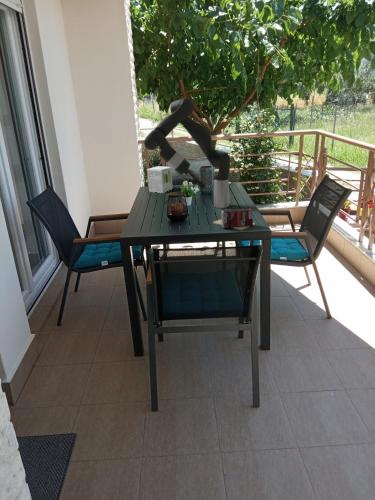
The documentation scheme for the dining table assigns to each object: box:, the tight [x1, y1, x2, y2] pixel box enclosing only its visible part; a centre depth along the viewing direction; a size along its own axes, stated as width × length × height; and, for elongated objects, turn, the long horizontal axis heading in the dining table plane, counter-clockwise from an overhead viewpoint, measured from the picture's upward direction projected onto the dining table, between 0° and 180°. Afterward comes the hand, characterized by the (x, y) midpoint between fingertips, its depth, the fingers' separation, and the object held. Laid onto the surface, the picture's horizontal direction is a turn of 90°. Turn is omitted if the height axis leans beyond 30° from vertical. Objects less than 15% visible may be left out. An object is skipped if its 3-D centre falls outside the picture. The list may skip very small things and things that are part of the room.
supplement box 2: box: [220, 207, 254, 229], centre depth 203 cm, size 9×5×16 cm
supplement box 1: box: [147, 165, 174, 194], centre depth 293 cm, size 13×13×18 cm
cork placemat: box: [212, 218, 256, 231], centre depth 210 cm, size 12×20×1 cm, turn 44°
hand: (204, 187), depth 196 cm, fingers closed
